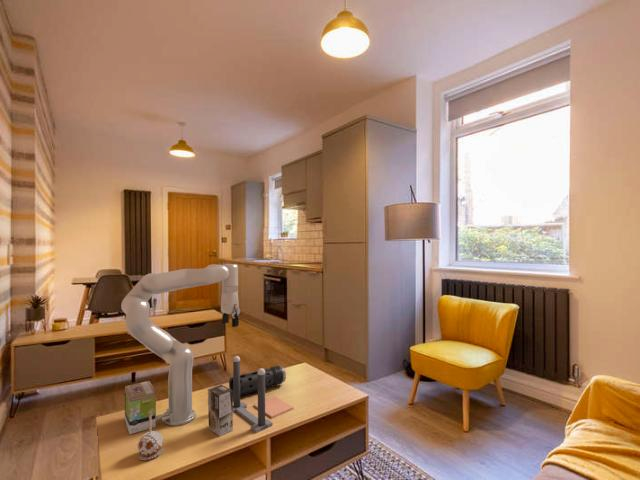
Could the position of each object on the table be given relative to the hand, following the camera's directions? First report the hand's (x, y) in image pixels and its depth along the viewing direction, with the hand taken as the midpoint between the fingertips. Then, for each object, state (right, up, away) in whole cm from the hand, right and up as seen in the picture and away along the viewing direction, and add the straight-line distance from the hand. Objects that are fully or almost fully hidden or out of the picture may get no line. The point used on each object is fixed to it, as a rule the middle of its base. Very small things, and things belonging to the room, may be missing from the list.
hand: (230, 324), depth 161 cm
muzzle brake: (+12, -37, +10) cm, 40 cm away
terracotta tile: (+22, -36, -8) cm, 43 cm away
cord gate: (+12, -36, -16) cm, 42 cm away
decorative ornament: (-18, -37, -41) cm, 58 cm away
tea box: (-33, -37, -20) cm, 54 cm away
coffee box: (+3, -37, -25) cm, 44 cm away
